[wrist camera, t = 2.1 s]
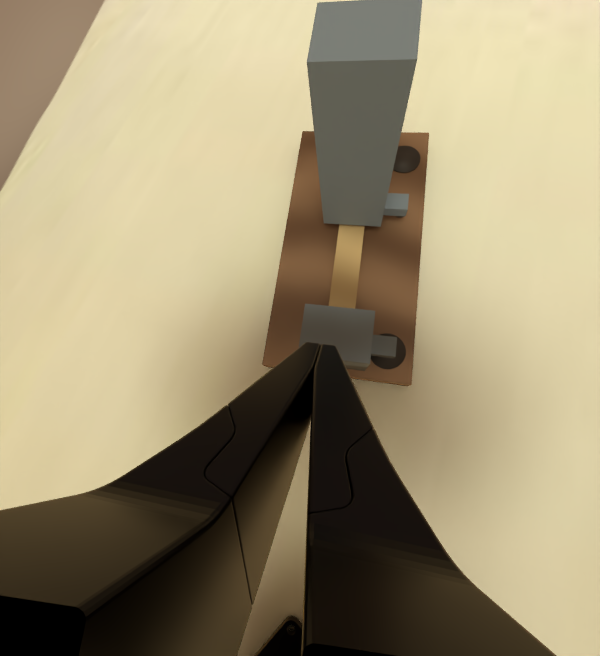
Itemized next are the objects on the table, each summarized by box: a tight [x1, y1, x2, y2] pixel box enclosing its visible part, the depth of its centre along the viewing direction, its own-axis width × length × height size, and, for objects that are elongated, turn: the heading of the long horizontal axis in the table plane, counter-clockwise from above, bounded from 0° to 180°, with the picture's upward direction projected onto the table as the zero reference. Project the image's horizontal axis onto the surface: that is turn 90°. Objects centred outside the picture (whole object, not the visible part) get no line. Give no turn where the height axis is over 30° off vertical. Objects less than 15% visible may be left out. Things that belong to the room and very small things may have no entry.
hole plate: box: [262, 131, 429, 386], centre depth 22 cm, size 20×10×5 cm, turn 171°
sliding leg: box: [307, 0, 422, 227], centre depth 17 cm, size 3×6×12 cm, turn 81°
